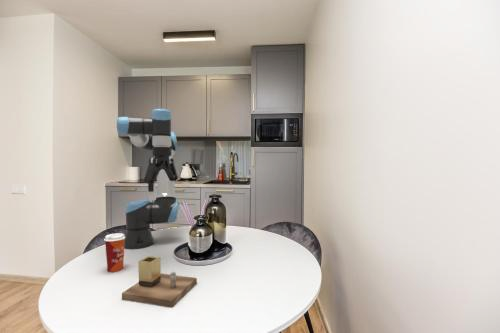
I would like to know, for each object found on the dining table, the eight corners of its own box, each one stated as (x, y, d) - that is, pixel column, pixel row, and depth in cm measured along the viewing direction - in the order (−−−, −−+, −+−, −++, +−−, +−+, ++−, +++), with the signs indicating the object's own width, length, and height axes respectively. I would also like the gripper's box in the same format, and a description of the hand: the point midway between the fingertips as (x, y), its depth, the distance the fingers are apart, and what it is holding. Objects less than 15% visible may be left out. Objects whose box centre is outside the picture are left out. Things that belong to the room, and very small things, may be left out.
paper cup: (117, 274, 102) (116, 238, 102) (100, 272, 104) (99, 237, 104) (130, 266, 110) (129, 233, 110) (114, 264, 111) (113, 232, 111)
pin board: (153, 277, 99) (153, 259, 98) (196, 283, 94) (196, 264, 94) (121, 299, 83) (121, 277, 83) (171, 307, 78) (171, 284, 78)
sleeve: (148, 278, 93) (148, 256, 92) (160, 280, 91) (160, 257, 91) (138, 285, 88) (138, 261, 88) (151, 286, 86) (151, 262, 86)
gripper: (170, 148, 122) (171, 193, 123) (133, 145, 98) (134, 201, 99) (185, 148, 120) (185, 194, 121) (150, 144, 96) (151, 202, 96)
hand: (162, 197), depth 110 cm, fingers open, 13 cm apart
